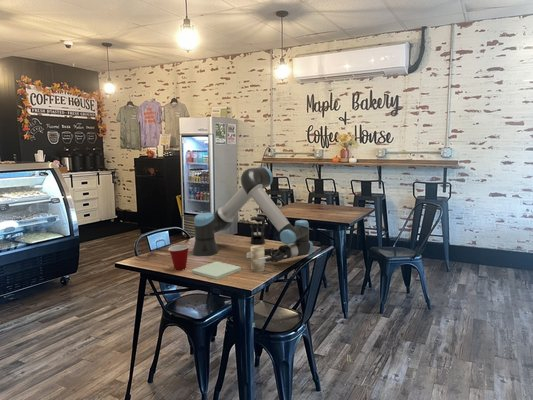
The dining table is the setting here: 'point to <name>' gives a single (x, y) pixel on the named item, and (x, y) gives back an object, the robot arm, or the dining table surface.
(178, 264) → the plastic cup
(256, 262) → the birch roller
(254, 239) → the french press
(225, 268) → the board
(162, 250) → the dining table surface
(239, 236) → the dining table surface
